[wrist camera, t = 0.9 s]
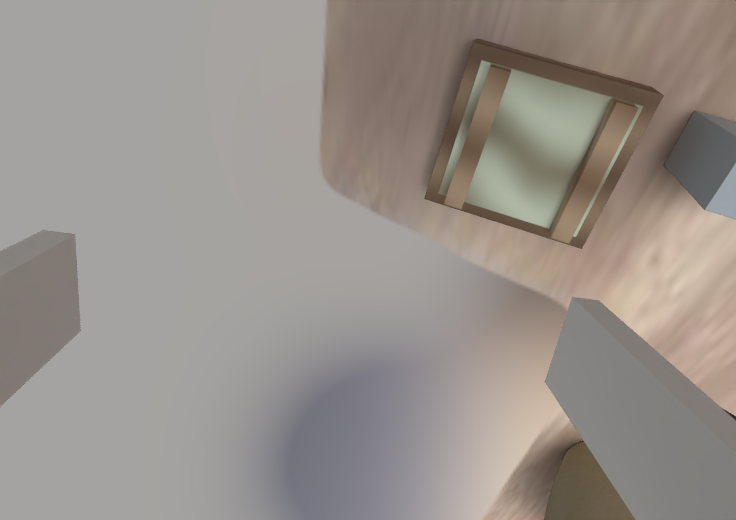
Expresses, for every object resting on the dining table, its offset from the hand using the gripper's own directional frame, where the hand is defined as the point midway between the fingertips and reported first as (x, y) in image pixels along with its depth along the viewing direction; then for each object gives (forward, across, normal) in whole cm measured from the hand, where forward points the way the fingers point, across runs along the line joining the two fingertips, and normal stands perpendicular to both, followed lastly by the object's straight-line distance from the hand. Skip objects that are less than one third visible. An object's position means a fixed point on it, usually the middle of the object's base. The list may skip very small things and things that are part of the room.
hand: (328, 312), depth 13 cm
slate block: (+26, +29, +5) cm, 39 cm away
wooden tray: (+30, +16, +3) cm, 34 cm away
